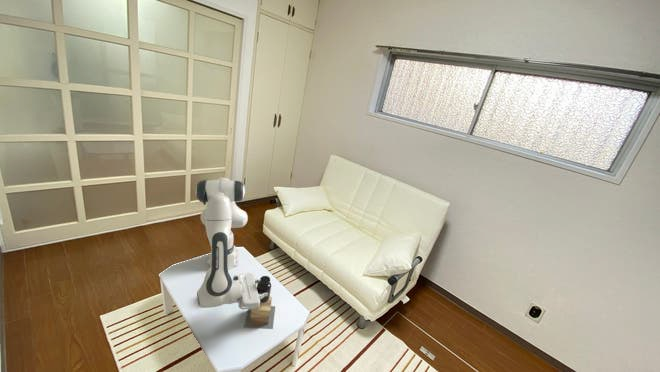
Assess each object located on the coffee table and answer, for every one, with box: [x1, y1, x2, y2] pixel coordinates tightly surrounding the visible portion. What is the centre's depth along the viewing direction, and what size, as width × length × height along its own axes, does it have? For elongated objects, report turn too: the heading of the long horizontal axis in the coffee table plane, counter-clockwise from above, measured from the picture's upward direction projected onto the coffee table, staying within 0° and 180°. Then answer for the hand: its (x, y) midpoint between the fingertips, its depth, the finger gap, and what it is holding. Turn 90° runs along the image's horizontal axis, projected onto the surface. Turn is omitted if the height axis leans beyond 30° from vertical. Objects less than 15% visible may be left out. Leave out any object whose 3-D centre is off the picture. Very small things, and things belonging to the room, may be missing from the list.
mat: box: [243, 305, 276, 330], centre depth 137 cm, size 14×14×1 cm
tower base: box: [250, 317, 269, 324], centre depth 136 cm, size 9×9×4 cm
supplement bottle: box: [256, 275, 272, 303], centre depth 130 cm, size 7×7×12 cm
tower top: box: [251, 296, 273, 318], centre depth 134 cm, size 9×9×4 cm
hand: (265, 287), depth 130 cm, fingers closed on supplement bottle, 7 cm apart
